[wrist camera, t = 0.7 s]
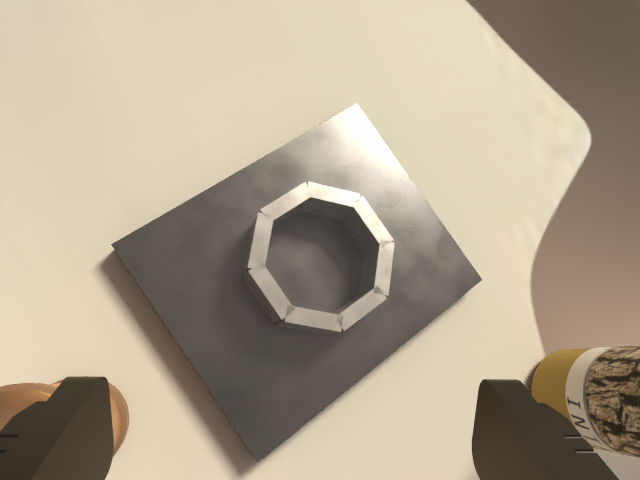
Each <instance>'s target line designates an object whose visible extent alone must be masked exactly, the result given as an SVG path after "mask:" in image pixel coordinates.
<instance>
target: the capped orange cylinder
mask: <svg viewBox="0 0 640 480" xmlns="http://www.w3.org/2000/svg"><path fill="white" fill-rule="evenodd" d="M85 377H88V376H85ZM62 381H63V380H60V381H58V382H56V383H53V384H50V385H47V384H41V383H20V384H12V385H6V386H2V387H0V431H1V430H2V428H3V427H4V426H5V425H6V424H7V423H8V422H9V420H10V419H11V418H12V417H13V416H14V415H16V414H18V413H19V412H21V411H22V410H24V409H25V408H27V407H28V406H30V405H32V404H33V403H35V402H36V401H47V400H48V398H49V397H50V396H51V395H52V394H53V392H54V391H55V390H56V389H57V387H58V386H59V385H60V384H61V382H62ZM108 384H109V391H110V402H111V414H112V425H113V436H114V450H113V456H114V454H115V453H116V452H117V451H118V449H119V448H120V446H121V445H122V443H123V441H124V439H125V437H126V434H127V430H128V425H129V412H128V407H127V404H126V401H125V399H124V397H123V396H122V394H121V393H120V392H119V390H118V389H117V388H116V387H115V386H113V385H112V384H110V383H109V382H108Z"/></svg>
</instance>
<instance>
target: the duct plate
mask: <svg viewBox="0 0 640 480" xmlns="http://www.w3.org/2000/svg"><path fill="white" fill-rule="evenodd" d="M111 245H112V247H113V248H114V250H115V251H116V253H117V254H118V256H119V257H120V259H121V260H122V262H123V263H124V265H125V266H126V268H127V269H128V271H129V272H130V274H131V275H132V277H133V278H134V280H135V281H136V283H137V284H138V286H139V287H140V289H141V290H142V292H143V293H144V295H145V296H146V298H147V299H148V300H149V302H150V303H151V305H152V306H153V308H154V309H155V311H156V312H157V314H158V315H159V317H160V318H161V320H162V321H163V323H164V324H165V326H166V327H167V329H168V330H169V332H170V333H171V335H172V336H173V338H174V339H175V341H176V342H177V344H178V345H179V347H180V348H181V350H182V351H183V353H184V354H185V356H186V357H187V358H188V360H189V361H190V363H191V364H192V366H193V367H194V369H195V370H196V372H197V373H198V375H199V376H200V378H201V379H202V381H203V382H204V384H205V385H206V387H207V388H208V390H209V391H210V393H211V394H212V396H213V397H214V399H215V400H216V402H217V403H218V405H219V406H220V408H221V409H222V411H223V412H224V414H225V415H226V416H227V418H228V419H229V421H230V422H231V424H232V425H233V427H234V428H235V430H236V431H237V433H238V434H239V436H240V437H241V439H242V440H243V442H244V443H245V445H246V446H247V448H248V449H249V451H250V452H251V454H252V455H253V457H254V458H255V459H256V461H257V462H259V461H260V460H262V459H263V458H264V457H265V456H266V455H268V454H269V453H270V452H271V451H273V450H274V449H275V448H276V447H277V446H279V445H280V444H281V443H282V442H284V441H285V440H286V439H287V438H289V437H290V436H291V435H292V434H293V433H295V432H296V431H297V430H298V429H300V428H301V427H302V426H303V425H304V424H306V423H307V422H308V421H309V420H311V419H312V418H313V417H314V416H315V415H317V414H318V413H319V412H320V411H322V410H323V409H324V408H325V407H327V406H328V405H329V404H330V403H331V402H333V401H334V400H335V399H336V398H338V397H339V396H340V395H341V394H342V393H344V392H345V391H346V390H347V389H349V388H350V387H351V386H352V385H354V384H355V383H356V382H357V381H358V380H360V379H361V378H362V377H363V376H365V375H366V374H367V373H368V372H369V371H371V370H372V369H373V368H374V367H376V366H377V365H378V364H379V363H381V362H382V361H383V360H384V359H385V358H387V357H388V356H389V355H390V354H392V353H393V352H394V351H395V350H396V349H398V348H399V347H400V346H401V345H403V344H404V343H405V342H406V341H407V340H409V339H410V338H411V337H412V336H414V335H415V334H416V333H417V332H419V331H420V330H421V329H422V328H423V327H425V326H426V325H427V324H428V323H430V322H431V321H432V320H433V319H434V318H436V317H437V316H438V315H439V314H441V313H442V312H443V311H444V310H446V309H447V308H448V307H449V306H450V305H452V304H453V303H454V302H455V301H457V300H458V299H459V298H460V297H461V296H463V295H464V294H465V293H466V292H468V291H469V290H470V289H471V288H473V287H474V286H475V285H476V284H477V283H479V282H480V281H481V280H482V279H481V277H480V276H479V274H478V273H477V272H476V270H475V269H474V267H473V266H472V265H471V263H470V262H469V260H468V259H467V258H466V256H465V255H464V253H463V252H462V250H461V249H460V248H459V246H458V245H457V243H456V242H455V241H454V239H453V238H452V236H451V235H450V234H449V232H448V231H447V229H446V228H445V227H444V225H443V224H442V222H441V221H440V220H439V218H438V217H437V215H436V214H435V212H434V211H433V210H432V208H431V207H430V205H429V204H428V203H427V201H426V200H425V198H424V197H423V196H422V194H421V193H420V191H419V190H418V189H417V187H416V186H415V184H414V183H413V181H412V180H411V179H410V177H409V176H408V174H407V173H406V172H405V170H404V169H403V167H402V166H401V165H400V163H399V162H398V160H397V159H396V158H395V156H394V155H393V153H392V152H391V151H390V149H389V148H388V146H387V145H386V143H385V142H384V141H383V139H382V138H381V136H380V135H379V134H378V132H377V131H376V129H375V128H374V127H373V125H372V124H371V122H370V121H369V120H368V118H367V117H366V115H365V114H364V113H363V111H362V110H361V108H360V107H359V105H358V104H355V105H353V106H351V107H350V108H348V109H346V110H345V111H343V112H341V113H339V114H338V115H336V116H334V117H332V118H331V119H329V120H327V121H325V122H324V123H322V124H320V125H318V126H317V127H315V128H313V129H311V130H310V131H308V132H306V133H304V134H303V135H301V136H299V137H298V138H296V139H294V140H292V141H291V142H289V143H287V144H285V145H284V146H282V147H280V148H278V149H277V150H275V151H273V152H271V153H270V154H268V155H266V156H264V157H263V158H261V159H259V160H257V161H256V162H254V163H252V164H251V165H249V166H247V167H245V168H244V169H242V170H240V171H238V172H237V173H235V174H233V175H231V176H230V177H228V178H226V179H224V180H223V181H221V182H219V183H217V184H216V185H214V186H212V187H211V188H209V189H207V190H205V191H204V192H202V193H200V194H198V195H197V196H195V197H193V198H191V199H190V200H188V201H186V202H184V203H183V204H181V205H179V206H177V207H176V208H174V209H172V210H170V211H169V212H167V213H165V214H164V215H162V216H160V217H158V218H157V219H155V220H153V221H151V222H150V223H148V224H146V225H144V226H143V227H141V228H139V229H137V230H136V231H134V232H132V233H130V234H129V235H127V236H125V237H124V238H122V239H120V240H118V241H117V242H115V243H113V244H111Z"/></svg>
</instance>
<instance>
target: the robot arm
mask: <svg viewBox="0 0 640 480" xmlns="http://www.w3.org/2000/svg"><path fill="white" fill-rule="evenodd" d="M113 450H114V436H113V425H112V414H111V402H110V391H109V384H108V381H107V379H106V378H105V377H66V378H65V379H64V380H63V381H62V382H61V384H60V385H59V386H58V387H57V389H56V390H55V391H54V392H53V394H52V395H51V396H50V397H49V398H48V400H47V401H36V402H35V403H33V404H32V405H30V406H28V407H27V408H25V409H24V410H22V411H21V412H19V413H18V414H16V415H14V416H13V417H12V418H11V419H10V420H9V422H8V423H7V424H6V425H5V426H4V427H3V428H2V430H1V431H0V480H105V478H106V476H107V474H108V472H109V469H110V466H111V462H112V457H113ZM472 455H473V461H474V466H475V469H476V471H477V474H478V476H479V478H480V480H619V479H618V478H617V477H616V476H615V474H614V473H613V472H612V471H611V470H610V469H609V467H608V466H607V465H606V464H605V462H604V461H603V460H602V459H601V458H600V457H599V456H598V454H597V453H594V451H593V448H592V447H591V446H590V445H589V443H588V442H587V441H586V440H585V439H584V438H582V437H581V434H580V433H579V431H578V430H577V429H576V428H575V427H574V426H573V424H572V423H571V422H570V421H569V420H568V418H567V417H565V416H564V415H562V414H561V413H559V412H558V411H556V410H555V409H553V408H552V407H550V406H549V405H547V404H546V403H537V401H536V400H535V399H534V398H533V396H532V395H531V394H530V393H529V391H528V390H527V389H526V387H525V386H524V385H523V384H522V382H521V381H519V380H491V379H485V380H483V381H482V382H481V383H480V386H479V391H478V399H477V406H476V414H475V421H474V429H473V437H472Z"/></svg>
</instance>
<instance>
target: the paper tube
mask: <svg viewBox="0 0 640 480" xmlns="http://www.w3.org/2000/svg"><path fill="white" fill-rule="evenodd" d="M531 395H532V396H533V398H534V399H535V400H536V401H537V403H546V404H547V405H549V406H550V407H552V408H553V409H555V410H556V411H558V412H559V413H561V414H562V415H564V416H565V417H567V418H568V420H569V421H570V422H571V423H572V424H573V426H574V427H575V428H576V429H577V430H578V431H579V433H580V434H581V437H582V438H584V439H585V440H586V441H587V442H588V443H589V445H590V446H591V447H592V448H596V449H601V450H604V451H609V452H613V453H619V454H624V455H629V456H633V457H638V458H640V346H625V347H601V348H588V349H587V348H586V349H564V350H559V351H556V352H553V353H551V354H549V355H548V356H546V357H545V358H544V359H543V360H542V361H541V363H540V364H539V366H538V367H537V369H536V371H535V373H534V376H533V380H532V385H531Z"/></svg>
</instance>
